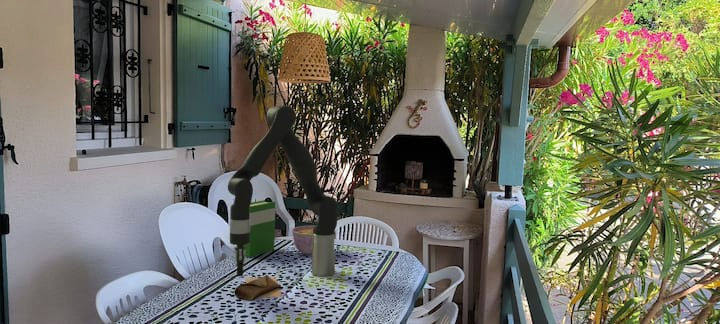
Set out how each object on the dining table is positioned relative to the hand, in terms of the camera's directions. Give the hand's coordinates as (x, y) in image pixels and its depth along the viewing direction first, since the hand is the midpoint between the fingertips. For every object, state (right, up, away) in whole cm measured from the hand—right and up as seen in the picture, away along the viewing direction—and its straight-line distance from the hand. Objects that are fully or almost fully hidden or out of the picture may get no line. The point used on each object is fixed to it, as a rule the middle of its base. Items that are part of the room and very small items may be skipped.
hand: (239, 275), depth 186 cm
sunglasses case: (+8, -6, -2) cm, 10 cm away
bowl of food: (+22, -2, +54) cm, 58 cm away
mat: (+8, -5, +3) cm, 10 cm away
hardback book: (-5, -1, +52) cm, 52 cm away
